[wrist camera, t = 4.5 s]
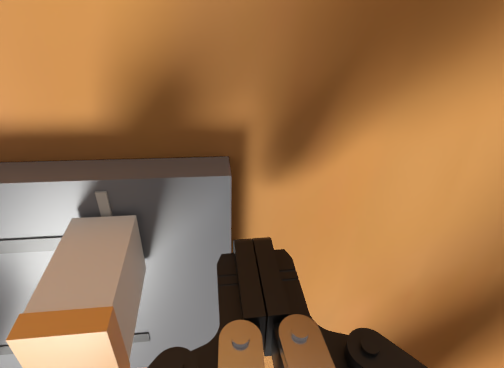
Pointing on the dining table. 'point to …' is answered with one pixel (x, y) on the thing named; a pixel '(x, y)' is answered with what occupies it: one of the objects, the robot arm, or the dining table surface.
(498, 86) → the dining table surface
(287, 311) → the robot arm
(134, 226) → the fader
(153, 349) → the console
